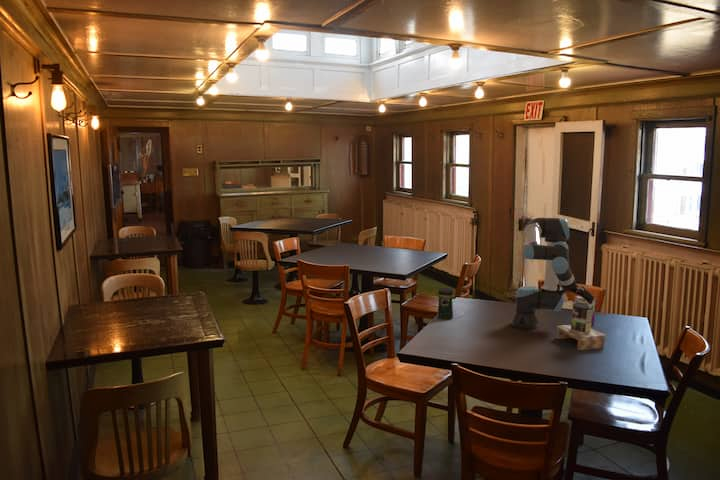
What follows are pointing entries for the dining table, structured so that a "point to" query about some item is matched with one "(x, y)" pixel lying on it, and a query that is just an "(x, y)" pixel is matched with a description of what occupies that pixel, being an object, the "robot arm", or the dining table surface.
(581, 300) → the candy bar box
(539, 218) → the robot arm
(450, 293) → the coffee jar
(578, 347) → the birch shelf
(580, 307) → the coffee can
